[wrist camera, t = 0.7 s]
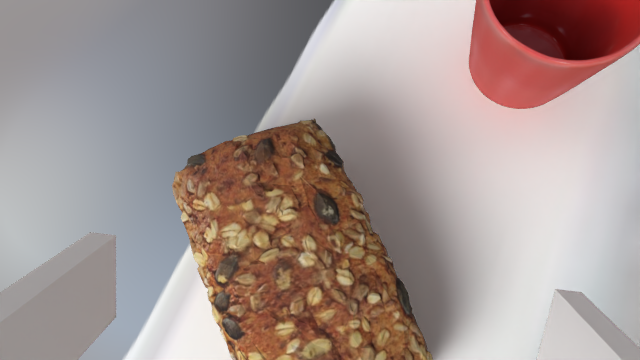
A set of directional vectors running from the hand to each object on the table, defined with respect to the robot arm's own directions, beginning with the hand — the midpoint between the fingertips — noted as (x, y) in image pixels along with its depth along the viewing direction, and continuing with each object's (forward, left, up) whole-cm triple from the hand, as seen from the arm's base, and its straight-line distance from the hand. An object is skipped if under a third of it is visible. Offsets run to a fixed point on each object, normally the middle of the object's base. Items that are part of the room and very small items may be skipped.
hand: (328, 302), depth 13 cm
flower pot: (+17, -17, -20) cm, 31 cm away
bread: (+2, +2, -20) cm, 20 cm away
